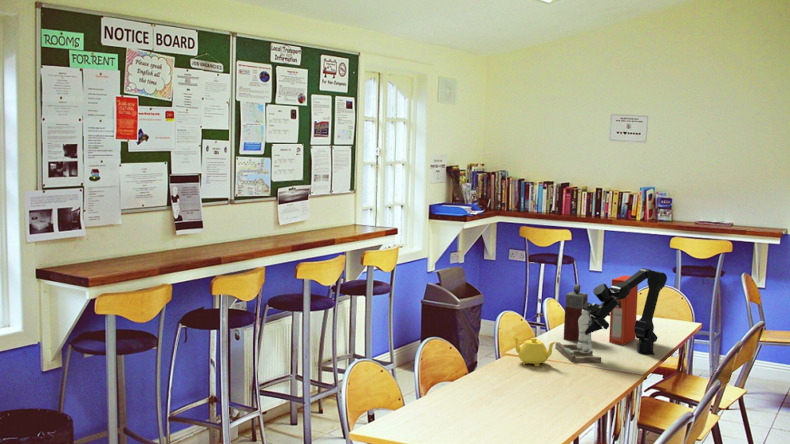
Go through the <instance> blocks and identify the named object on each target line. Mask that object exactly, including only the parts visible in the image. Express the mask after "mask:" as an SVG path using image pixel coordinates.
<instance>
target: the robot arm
mask: <svg viewBox="0 0 790 444" xmlns="http://www.w3.org/2000/svg"><path fill="white" fill-rule="evenodd" d="M630 276H631V277H630V278H628V279H627V280H625V281H624V282H621V283H617V284H615V285H613V286H612V285H611V286H610V287H608V285H607V284H606V283H601V284H599V285H597V286H596V287H594V288H593V290H592V292H593V294H594V296H595V297H596V298H597V299H598V300H599V302H601V303H599V304H598V303H596V302H592V303H590V302H588V301H587V302H585V304H584V306H583V308H586V309H587V310H590V316H591V318H592V323H591V325H590V326H589V327H588V329H587V330H586V331H585V334H589V333H591V334H592V333H594V332H597V331H599V330H603V329H604V330H608V328H610V322H609V321H607V320H606V318H607V317H610V313H611V311H612V310H613V309H614V308H615V307H616V306H617V307H619V308H621V302H620V301H617V300H616V298H618V299H625V298H626V297H627V296H628V295H629V293H630V290H631V289H633V288H634V287H635V286H637V285H638V286H639V285H640V284H641V283H643V282H644V281H645V280H647V281H646V283H647V286H648V292H647V295H646V299H645V304H644V307H643V311H642V314H641V318H639V320H638V319H636V322H635V326H634V328H635V329H634V332H635V335H636V337H635V339H638V341H637V345H636V346H637V347H636V352H638V353H639V354H641V355H655V352H654V343H655V342H657V341H658V336H657V335H656V333H655V331H654V330H655V326H654V321H653V319H654V315H655V311H656V307H657V303H658V299H659V296H660V292H661V290H662V289H663V288H664V287H665V286H666V284H667V281H668V276H667V274H666V273H665V272H661V271H657V270H652V269H650V268H645V267H642V268H640V269H639V270H638V271H637V272H635V273H633V275H630ZM581 313H582V312H581Z"/></svg>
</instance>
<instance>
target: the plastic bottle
mask: <svg viewBox="0 0 790 444" xmlns="http://www.w3.org/2000/svg"><path fill="white" fill-rule="evenodd" d="M591 323H592V318H591V316H590V310H587V309H582V315H581V316H580V318H579V320H578V325H579V339H578V342H577V349H576V350H577V351H579V352H582V353H589V352H591V351H593V350H592V349H593V344H592V333H589V334H585V331H586V330H587V329H588V327H589V326H590V325H591Z"/></svg>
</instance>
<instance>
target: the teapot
mask: <svg viewBox="0 0 790 444" xmlns="http://www.w3.org/2000/svg"><path fill="white" fill-rule="evenodd" d="M512 338H514V340H515V342H514V343H515V344H514V345H515V348H514V349H515V351H516V353H517V354H518V355H517V356H518V358H519V360H520V362H522V365H523V364H527V365H528V364H533V365H534V367H536V366H539V367H540V366H541V364H540V363H543V364H544V363H545V362H547V360H548V358H550V356H552V353H553V346H554V344H556V342H557V341H553V342H550V343H549V344H548V345H549V346H548V349H547V347H546V346H545V344H544V342H543V341H541V340H540V339H538V338H536V337H530V339H526V340H525V341H524V342H523V343H522V344H521V345H520V342H519V341H520V340H519V339H518V337H517V336H515V335H512Z"/></svg>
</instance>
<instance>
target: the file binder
mask: <svg viewBox="0 0 790 444" xmlns="http://www.w3.org/2000/svg"><path fill="white" fill-rule="evenodd" d="M631 276H632V275H621V276H618V277H616V278H612V279H611V286H613V285H615V284H617V283H621V282H624V281H625V280H627V279H628V278H630V277H631ZM638 291H639V284H638V285H637V286H635V287H634V288H633V289H631V290H630V293H629V295H628V296H627V297H626V298H625V299H618V298H616V300H617V301H620V302H621V308H619V307H617V306H616V307H615V308H614V309H613V310H612V311H611V312H610V316H609V340H608V343H611V344H616V345H617V344H618V345H623V346H624V345H626V344H627V343H630V342H631V341H633V340H635V339H636V335H635V332H634V329H635V328H634V326H635V322H636V320H637V317H638V316H637V314H638V313H637V312H638V311H637V310H638V293H639V292H638Z"/></svg>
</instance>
